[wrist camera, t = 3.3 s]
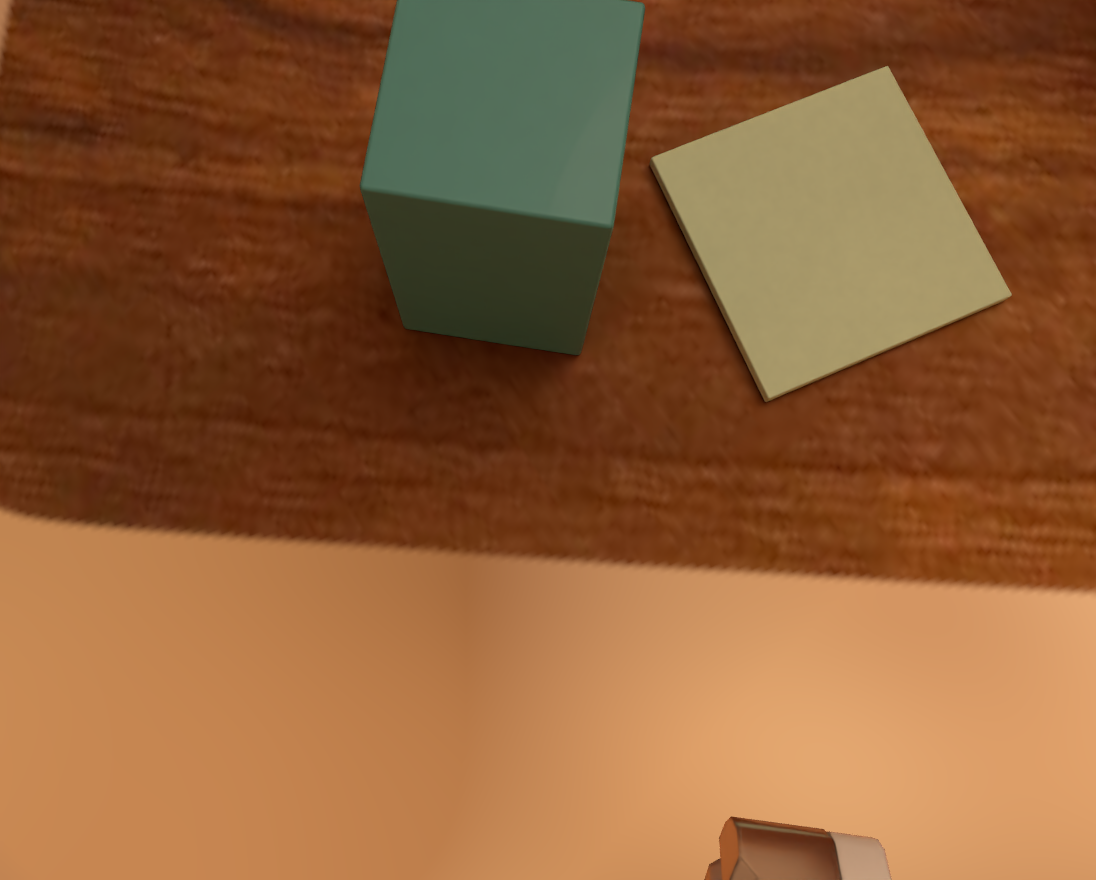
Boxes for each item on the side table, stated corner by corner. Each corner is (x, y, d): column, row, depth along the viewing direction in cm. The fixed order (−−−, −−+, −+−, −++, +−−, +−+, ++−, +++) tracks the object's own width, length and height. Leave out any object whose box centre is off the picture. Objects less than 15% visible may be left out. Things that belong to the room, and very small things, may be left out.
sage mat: (764, 402, 26) (768, 399, 25) (648, 164, 27) (650, 156, 26) (1005, 300, 26) (1013, 295, 26) (882, 72, 28) (888, 64, 27)
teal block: (580, 356, 26) (613, 228, 18) (403, 329, 26) (357, 188, 18) (604, 192, 26) (646, 1, 19) (433, 165, 26) (403, -37, 19)
